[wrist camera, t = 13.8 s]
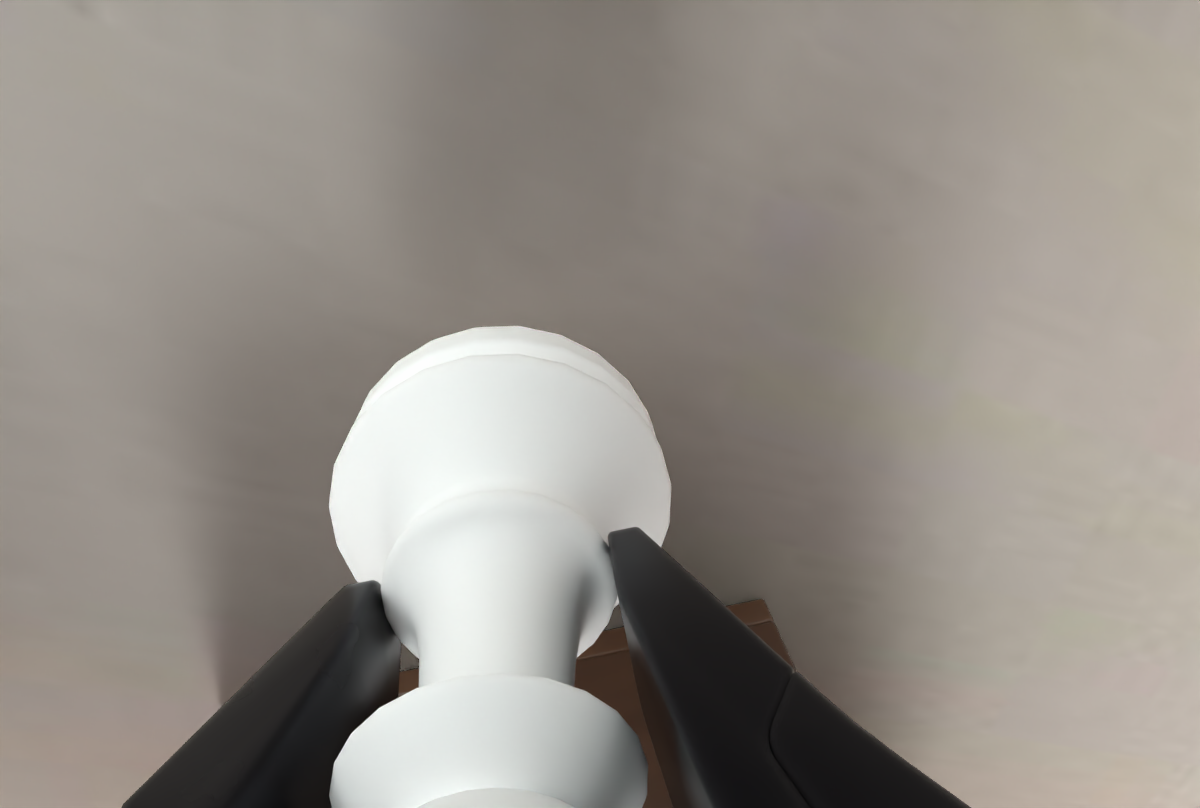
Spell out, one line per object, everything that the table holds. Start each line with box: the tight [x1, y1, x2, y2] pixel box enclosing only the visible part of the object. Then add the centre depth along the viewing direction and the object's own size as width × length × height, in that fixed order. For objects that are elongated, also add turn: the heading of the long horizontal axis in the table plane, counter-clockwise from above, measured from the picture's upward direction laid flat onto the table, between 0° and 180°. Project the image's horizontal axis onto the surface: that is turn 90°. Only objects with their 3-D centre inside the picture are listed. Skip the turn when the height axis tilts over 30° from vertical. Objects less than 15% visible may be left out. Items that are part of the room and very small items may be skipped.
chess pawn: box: [329, 326, 671, 808], centre depth 8 cm, size 5×5×9 cm
